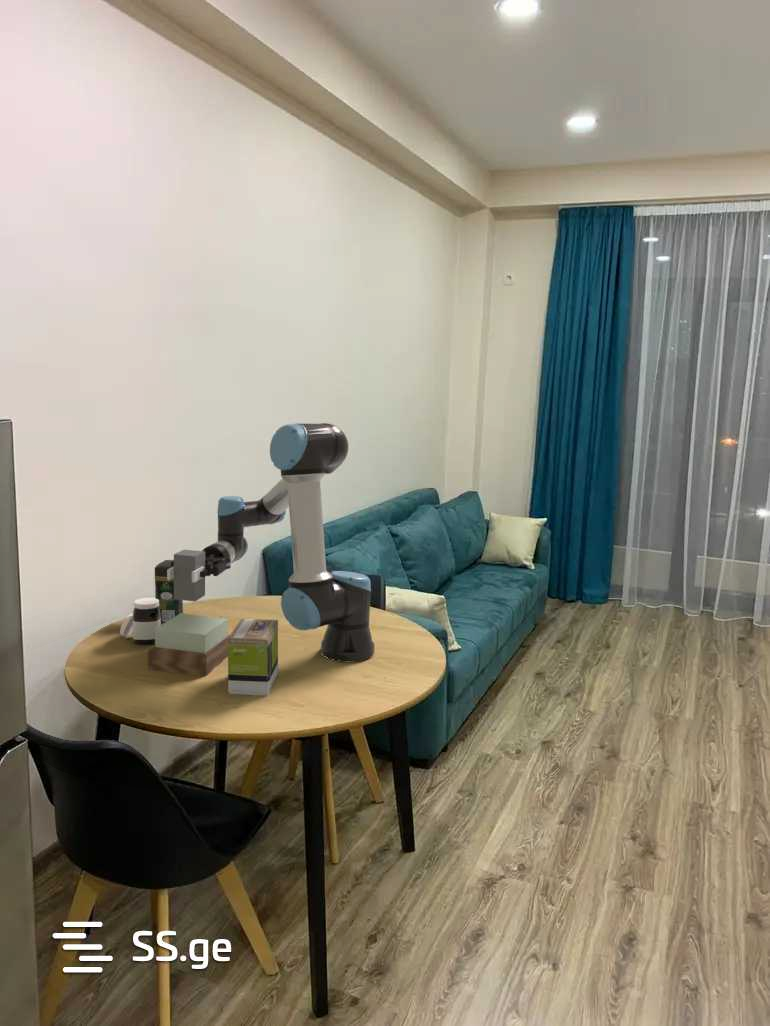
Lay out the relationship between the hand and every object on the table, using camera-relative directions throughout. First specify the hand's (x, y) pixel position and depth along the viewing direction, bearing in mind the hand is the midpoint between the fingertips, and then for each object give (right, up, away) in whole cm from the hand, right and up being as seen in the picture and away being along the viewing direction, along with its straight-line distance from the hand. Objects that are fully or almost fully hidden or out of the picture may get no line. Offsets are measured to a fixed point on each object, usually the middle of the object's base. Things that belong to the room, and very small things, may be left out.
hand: (180, 576), depth 193 cm
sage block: (+1, -18, +9) cm, 20 cm away
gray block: (+1, -6, +6) cm, 9 cm away
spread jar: (-18, -20, +25) cm, 37 cm away
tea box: (+19, -27, -3) cm, 33 cm away
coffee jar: (-15, -17, +43) cm, 49 cm away
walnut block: (0, -24, +9) cm, 26 cm away
